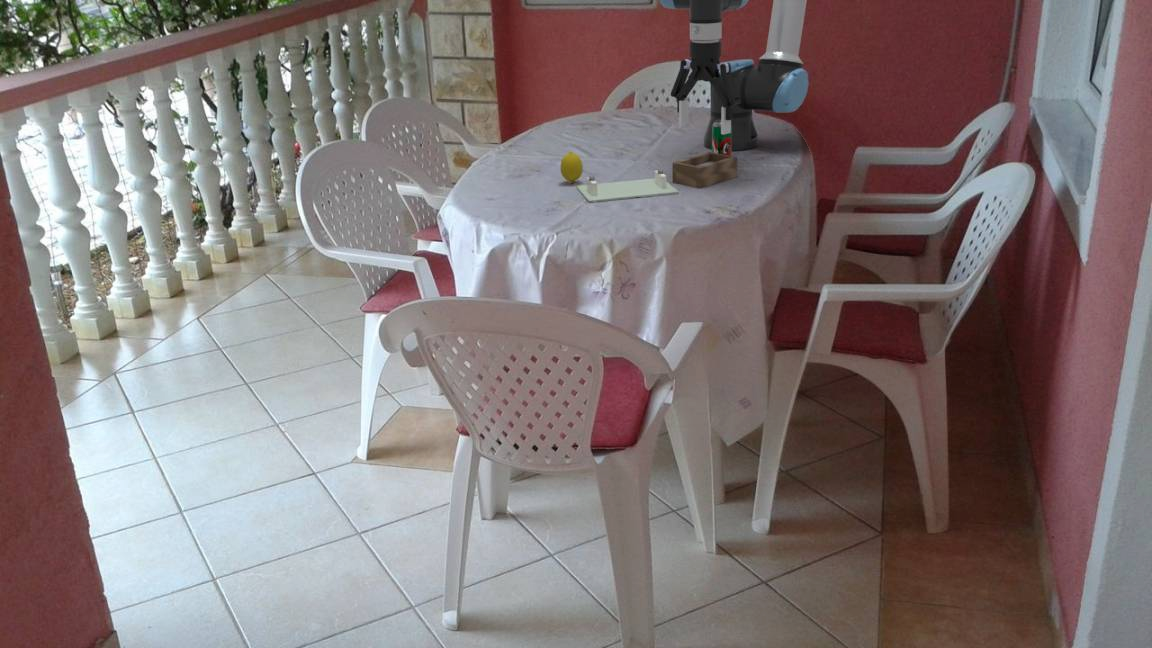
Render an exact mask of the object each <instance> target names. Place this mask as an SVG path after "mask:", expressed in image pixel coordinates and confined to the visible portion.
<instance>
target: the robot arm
mask: <svg viewBox="0 0 1152 648" xmlns="http://www.w3.org/2000/svg"><path fill="white" fill-rule="evenodd" d="M807 1H808V0H773V3H772V8H771V15H770V23H769V28H768V29H769V31H768V36H767V43H766V49H765V53H763V55H761V56H760V57H759V59H758V65H755V61H754V59H750V58H746V59H735V60H729V61H723V62H720V58H721V57H722V42H721V39H722V37H723V36H722V35H723V33H722V28H723V25H722V24H723V22H722V18H723V16H722V15H723V13H724V12H729V11H736V10H738V9H739V10H740V9H742V8H743V7H745V6H746V5H747V3H748V2H749V0H659V2H660V4H661V6H662V7H663V8H664V9H665V8H666V9H673V10H676V11H677V10H689V39H690V40H691V41H690V43H689V57H690V58H687V59H681V60H680V65H679V70H678V73H677V75H676V79H675V80H674V84H673V87H672V89H671V90H670V91H671V92H670V97H671V98H674V99H676V102H677V104H676V106H677V109H676V111H677V114H678V128H686V127H688V126H689V120H690V119H689V115H690V114H689V113H690V111H689V110H690V109H689V107H690V106H689V105H690V104H689V99H688V95H689V94H690V93H691V91H692V90H693V89H694V87H695V85H696V84H697V82H698V81H700V82H701V81H703V82H709V84H710V85H709V86H710V88H709V89H710V93H709V94H710V95H709V96H710V97H709V98H710V115H709V116H710V118H709V122H708V124H707V127H706V130H705V134H704V136H703V146H704V147H706V148H707V149H711V150H712V125H713V124H714V121H716V120H721V134H723V135H724V134H728V133H731V124H732V151H743V150H749V149H754V148H756V147H758V146H759V135H758V131H757V127H756V124H755V121H754V118H753V112H754V111H759V112H760V111H762V112H771V113H777V114H780V113H787V114H790V113H794V112H795V111H797V110H798V109H799V108H800V106H801V105H803V103H804V101H805V99H806V96H807V93H808V90H809V89H808V88H809V74H808V72H807V71H806V70H805V69H804V68H803V65H804V62H803V61H802V60H801V58H800V56H799V54H800V47H801V42H802V41H801V40H802V36H803V35H802V33H803V28H804V22H805V16H806V15H805V14H806V8H807ZM690 70H691V71H690ZM689 73H690V74H689Z"/></svg>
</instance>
